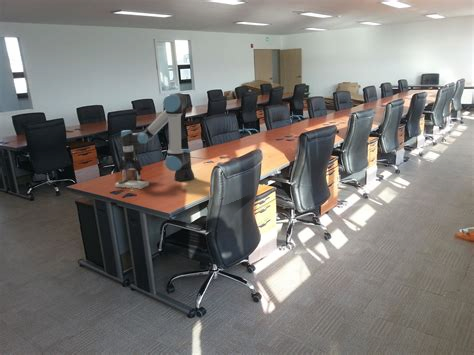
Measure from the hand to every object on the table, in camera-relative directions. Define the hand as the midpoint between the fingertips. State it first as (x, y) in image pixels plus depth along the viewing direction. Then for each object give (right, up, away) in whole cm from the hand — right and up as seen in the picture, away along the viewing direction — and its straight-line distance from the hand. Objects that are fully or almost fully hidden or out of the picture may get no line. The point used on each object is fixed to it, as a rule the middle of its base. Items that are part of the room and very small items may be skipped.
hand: (131, 178), depth 300 cm
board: (+3, -5, -9) cm, 11 cm away
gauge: (-2, -4, -4) cm, 6 cm away
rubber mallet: (+1, 0, +12) cm, 12 cm away
